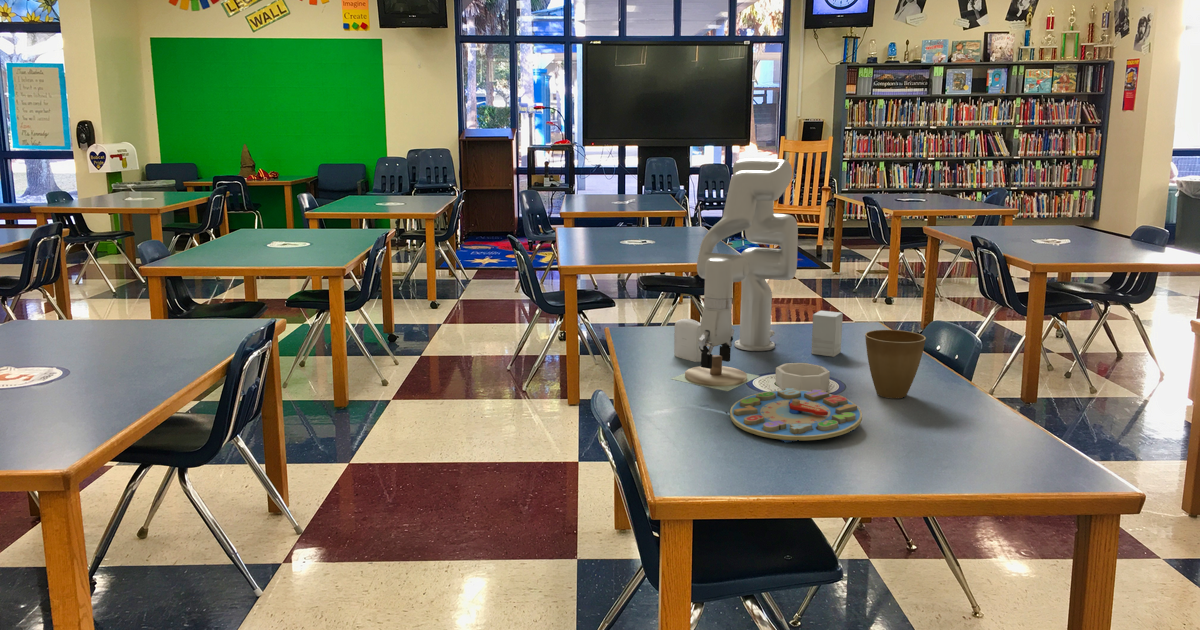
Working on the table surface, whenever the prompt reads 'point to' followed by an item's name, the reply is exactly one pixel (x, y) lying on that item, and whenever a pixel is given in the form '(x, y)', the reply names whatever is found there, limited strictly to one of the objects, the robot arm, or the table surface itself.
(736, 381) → the lid
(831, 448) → the table surface
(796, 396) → the shape sorting clock
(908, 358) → the plant pot
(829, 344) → the supplement box
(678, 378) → the mat
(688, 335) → the photo printer
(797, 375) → the bowl
